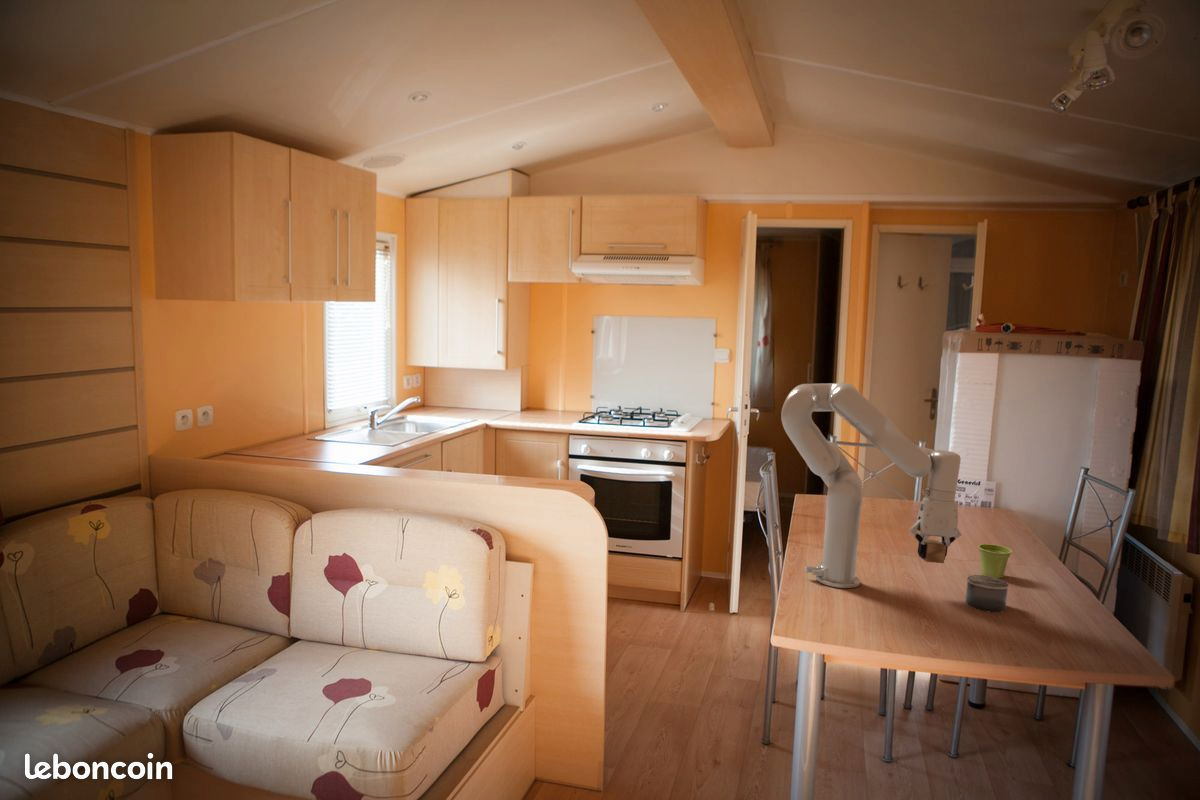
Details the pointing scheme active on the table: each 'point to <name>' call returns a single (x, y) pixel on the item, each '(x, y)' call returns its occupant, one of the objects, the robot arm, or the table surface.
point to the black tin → (986, 593)
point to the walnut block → (935, 551)
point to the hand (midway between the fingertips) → (931, 557)
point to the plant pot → (994, 559)
